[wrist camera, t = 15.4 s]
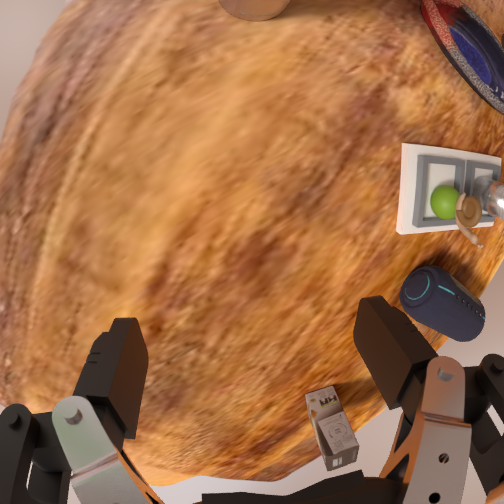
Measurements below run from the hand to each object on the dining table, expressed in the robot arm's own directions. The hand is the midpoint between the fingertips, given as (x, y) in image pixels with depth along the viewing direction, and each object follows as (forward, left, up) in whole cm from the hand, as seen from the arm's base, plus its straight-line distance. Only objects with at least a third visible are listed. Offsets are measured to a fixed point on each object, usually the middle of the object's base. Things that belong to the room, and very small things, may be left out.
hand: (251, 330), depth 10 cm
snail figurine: (+4, +33, -28) cm, 43 cm away
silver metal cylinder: (+2, +45, -28) cm, 53 cm away
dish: (-24, +44, -30) cm, 58 cm away
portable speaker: (+23, +39, -29) cm, 54 cm away
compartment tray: (+2, +39, -29) cm, 49 cm away
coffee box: (+47, +16, -29) cm, 58 cm away
